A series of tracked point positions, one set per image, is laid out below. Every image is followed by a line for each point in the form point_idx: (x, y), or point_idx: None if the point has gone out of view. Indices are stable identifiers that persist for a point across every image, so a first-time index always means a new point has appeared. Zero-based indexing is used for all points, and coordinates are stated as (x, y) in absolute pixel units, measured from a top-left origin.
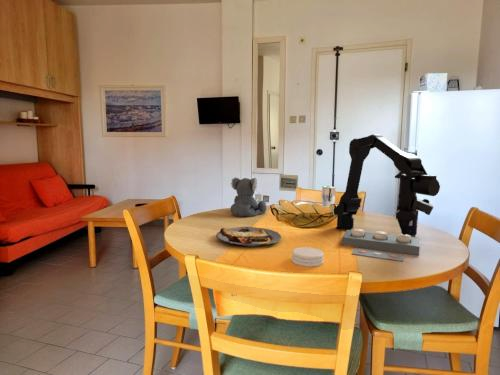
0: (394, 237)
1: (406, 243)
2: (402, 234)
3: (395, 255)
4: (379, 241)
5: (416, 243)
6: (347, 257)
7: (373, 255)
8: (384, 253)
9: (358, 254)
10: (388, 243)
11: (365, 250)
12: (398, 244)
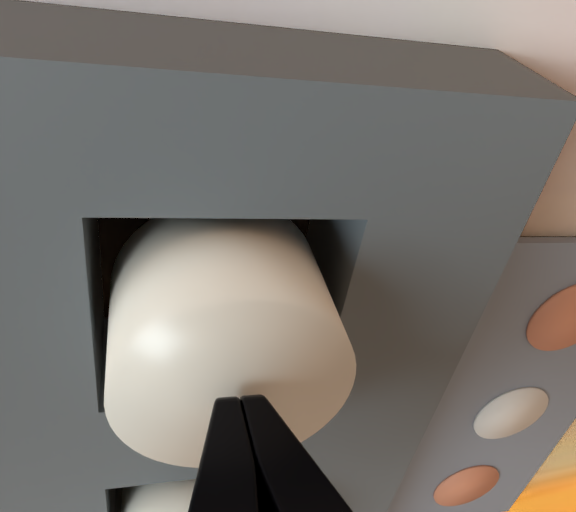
0: (108, 431)
1: (412, 283)
2: (170, 420)
3: (564, 304)
4: (385, 499)
5: (384, 139)
6: (561, 503)
7: (549, 424)
8: (494, 377)
9: (525, 485)
10: (416, 432)
11: (430, 479)
12: (455, 356)
